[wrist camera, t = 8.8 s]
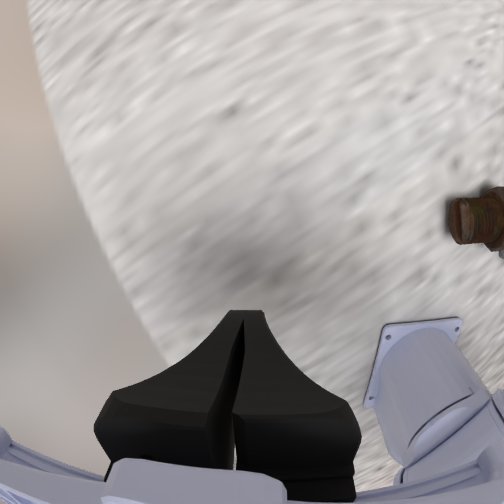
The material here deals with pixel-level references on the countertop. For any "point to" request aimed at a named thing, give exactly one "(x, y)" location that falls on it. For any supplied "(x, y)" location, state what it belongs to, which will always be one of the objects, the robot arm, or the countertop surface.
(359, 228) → the countertop surface
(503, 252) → the grey shallow rectangular tray
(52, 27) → the countertop surface
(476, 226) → the bolt
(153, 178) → the countertop surface
